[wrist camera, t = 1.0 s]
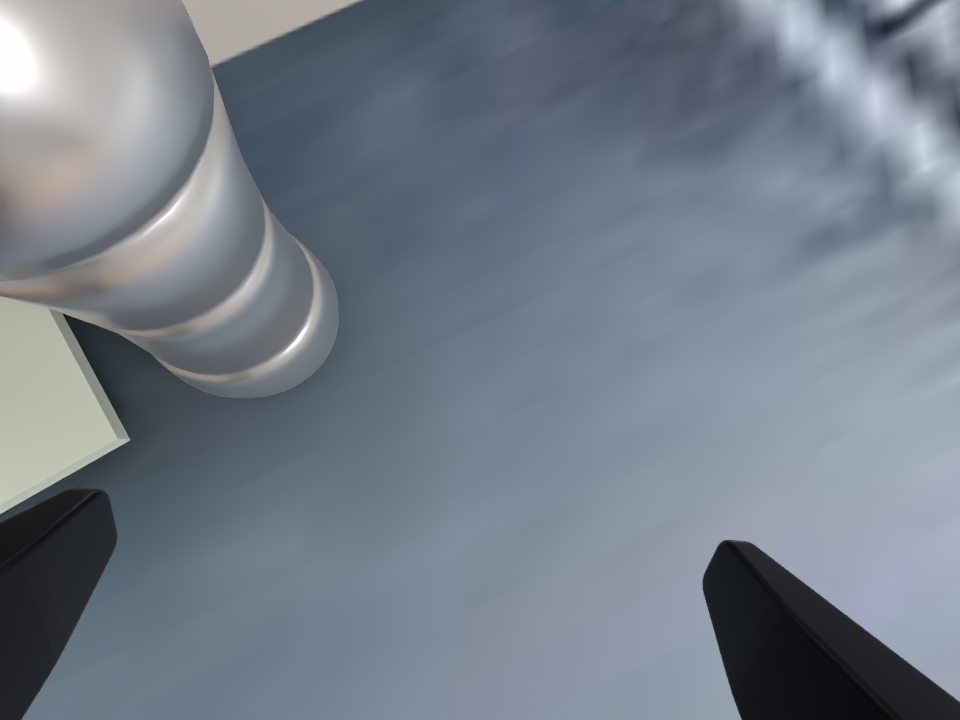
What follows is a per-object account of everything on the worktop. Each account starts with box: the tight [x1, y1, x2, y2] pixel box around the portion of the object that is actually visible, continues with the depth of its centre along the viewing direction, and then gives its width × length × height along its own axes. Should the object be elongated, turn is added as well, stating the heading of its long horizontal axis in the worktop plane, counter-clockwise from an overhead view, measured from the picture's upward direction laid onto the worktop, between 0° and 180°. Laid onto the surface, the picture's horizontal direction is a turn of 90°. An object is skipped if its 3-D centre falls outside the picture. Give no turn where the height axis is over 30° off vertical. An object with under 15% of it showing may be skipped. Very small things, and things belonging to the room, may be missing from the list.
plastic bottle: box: [0, 0, 339, 398], centre depth 12 cm, size 6×7×20 cm
